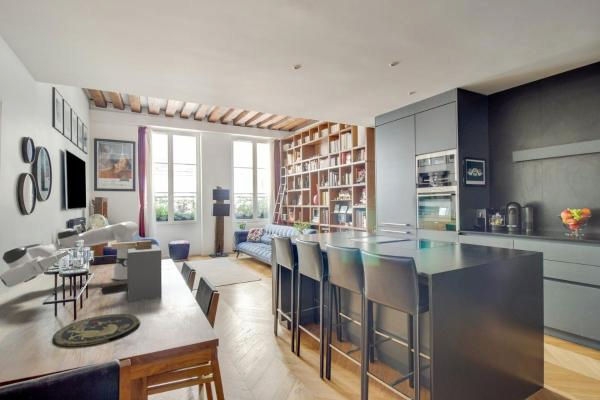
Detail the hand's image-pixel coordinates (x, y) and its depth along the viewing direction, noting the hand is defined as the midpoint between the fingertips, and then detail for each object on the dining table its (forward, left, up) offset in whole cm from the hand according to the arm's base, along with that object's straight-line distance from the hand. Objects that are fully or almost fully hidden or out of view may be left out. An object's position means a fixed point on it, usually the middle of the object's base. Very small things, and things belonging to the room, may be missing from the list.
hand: (69, 251), depth 168 cm
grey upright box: (+7, +35, -26) cm, 45 cm away
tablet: (-13, +27, -27) cm, 40 cm away
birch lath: (+1, +29, 0) cm, 29 cm away
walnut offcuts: (+7, +35, 0) cm, 36 cm away
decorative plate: (+56, +16, -27) cm, 65 cm away
